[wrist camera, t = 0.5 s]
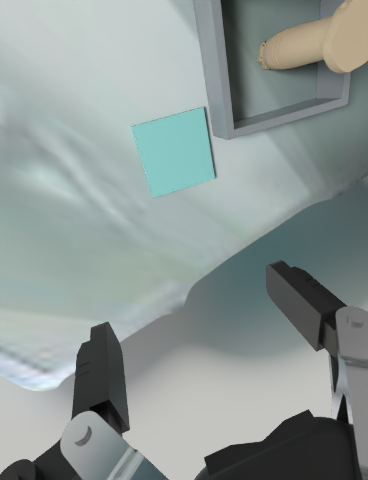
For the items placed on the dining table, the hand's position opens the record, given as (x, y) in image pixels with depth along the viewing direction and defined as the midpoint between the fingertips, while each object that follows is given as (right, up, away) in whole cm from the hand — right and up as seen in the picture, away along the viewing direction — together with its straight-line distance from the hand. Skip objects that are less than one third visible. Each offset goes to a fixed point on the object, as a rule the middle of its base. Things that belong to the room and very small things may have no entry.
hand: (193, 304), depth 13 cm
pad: (-2, +15, +25) cm, 29 cm away
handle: (+10, +28, +22) cm, 37 cm away
